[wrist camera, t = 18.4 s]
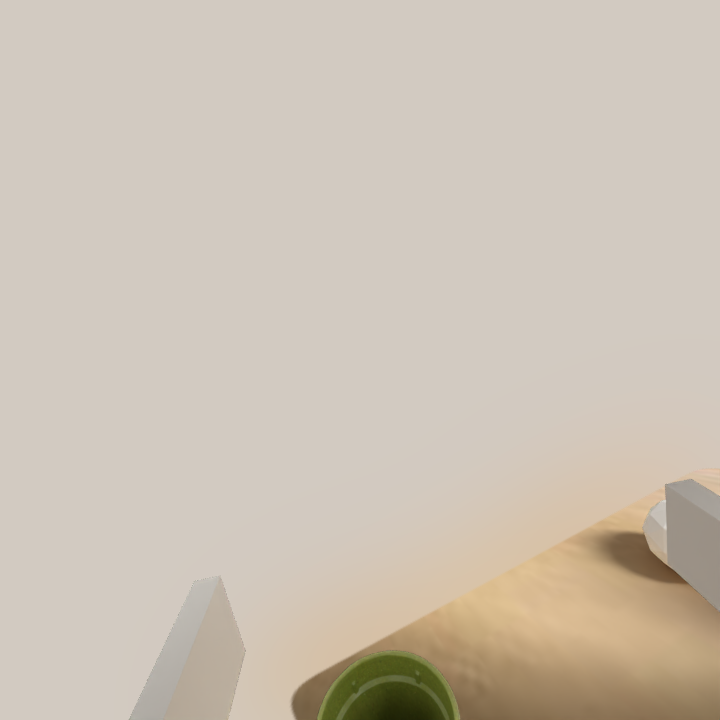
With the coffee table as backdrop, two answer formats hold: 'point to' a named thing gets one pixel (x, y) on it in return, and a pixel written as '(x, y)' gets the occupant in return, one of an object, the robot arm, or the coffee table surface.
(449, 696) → the plant pot
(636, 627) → the coffee table surface
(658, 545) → the geometric ball
